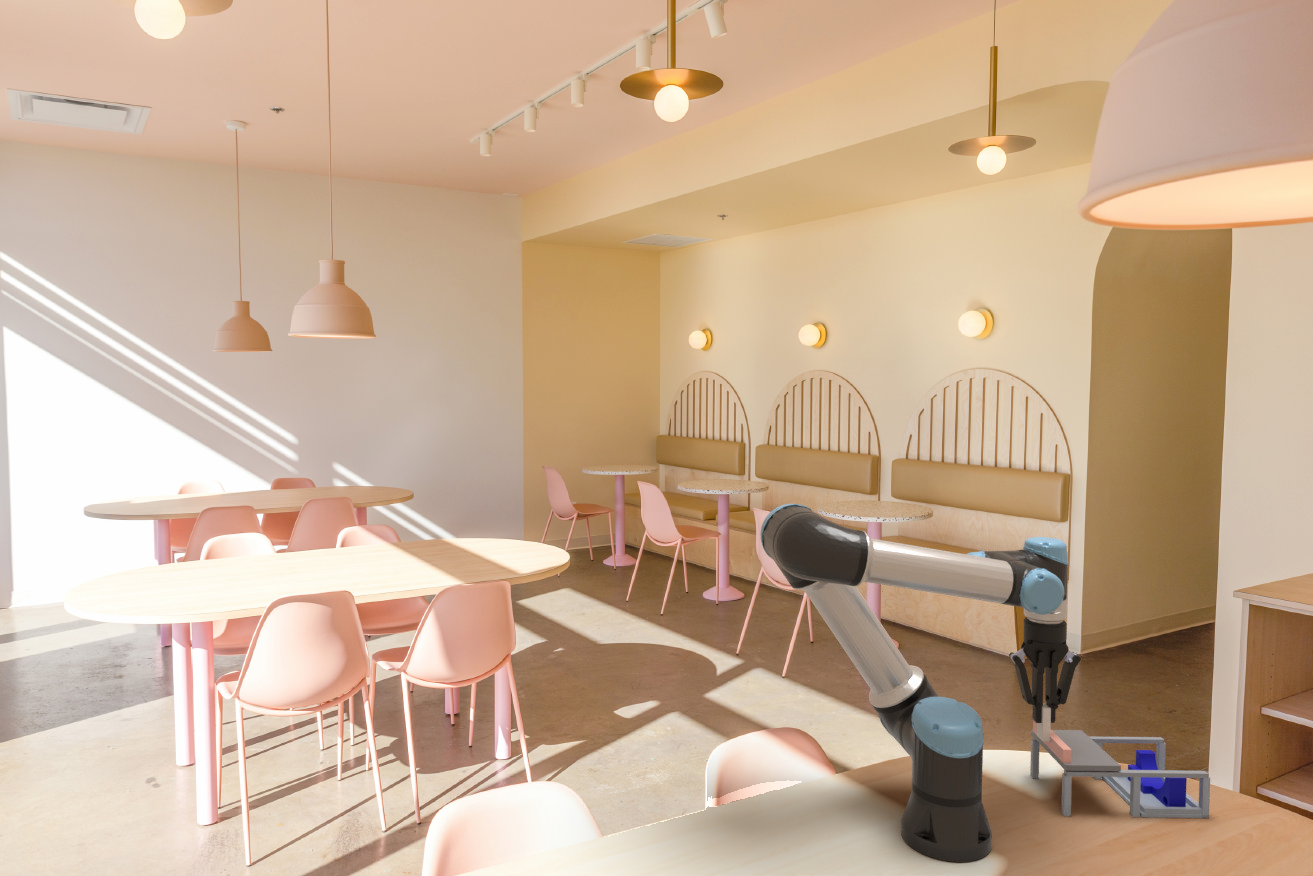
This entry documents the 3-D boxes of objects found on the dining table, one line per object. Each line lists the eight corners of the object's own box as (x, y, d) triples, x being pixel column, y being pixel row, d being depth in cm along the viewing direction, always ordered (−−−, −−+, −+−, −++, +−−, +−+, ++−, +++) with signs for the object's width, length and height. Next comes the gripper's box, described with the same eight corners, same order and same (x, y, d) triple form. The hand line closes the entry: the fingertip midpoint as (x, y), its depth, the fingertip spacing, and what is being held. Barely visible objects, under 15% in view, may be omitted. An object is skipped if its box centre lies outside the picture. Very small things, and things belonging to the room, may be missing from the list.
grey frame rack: (1064, 816, 157) (1065, 772, 156) (1030, 775, 173) (1031, 735, 172) (1208, 818, 156) (1210, 773, 155) (1161, 777, 172) (1162, 737, 171)
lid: (1065, 770, 156) (1065, 751, 156) (1031, 734, 172) (1031, 717, 172) (1120, 771, 156) (1121, 752, 156) (1081, 734, 172) (1081, 718, 172)
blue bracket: (1127, 779, 170) (1128, 750, 169) (1150, 779, 170) (1151, 750, 169) (1160, 809, 158) (1161, 778, 157) (1185, 809, 158) (1186, 778, 157)
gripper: (1017, 624, 159) (1016, 746, 161) (1088, 624, 159) (1086, 746, 160) (1003, 613, 167) (1002, 730, 168) (1071, 613, 166) (1069, 730, 168)
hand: (1043, 738), depth 164 cm, fingers closed
